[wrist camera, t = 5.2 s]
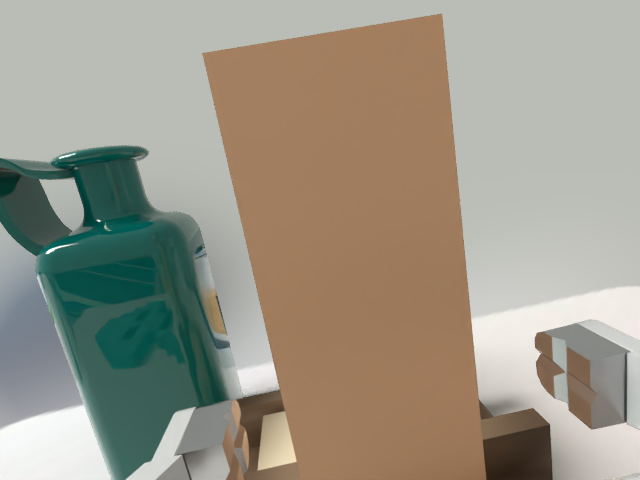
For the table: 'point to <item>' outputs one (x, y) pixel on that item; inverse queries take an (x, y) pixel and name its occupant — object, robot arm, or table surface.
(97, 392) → the pitcher
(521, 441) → the rack
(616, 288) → the table surface
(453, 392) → the panel
